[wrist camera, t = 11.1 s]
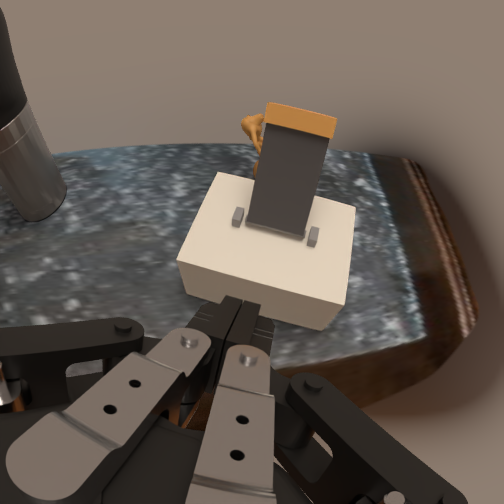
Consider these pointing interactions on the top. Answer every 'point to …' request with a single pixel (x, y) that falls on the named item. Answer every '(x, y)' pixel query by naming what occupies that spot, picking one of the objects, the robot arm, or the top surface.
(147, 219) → the top surface
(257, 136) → the figurine
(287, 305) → the breaker housing
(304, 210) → the handle
